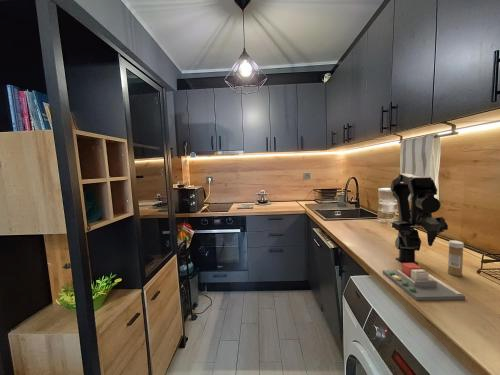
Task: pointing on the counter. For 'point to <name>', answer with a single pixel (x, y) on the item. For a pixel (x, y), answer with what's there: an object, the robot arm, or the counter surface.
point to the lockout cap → (409, 268)
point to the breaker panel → (423, 287)
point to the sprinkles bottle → (455, 258)
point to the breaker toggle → (419, 274)
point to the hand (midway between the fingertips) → (418, 246)
